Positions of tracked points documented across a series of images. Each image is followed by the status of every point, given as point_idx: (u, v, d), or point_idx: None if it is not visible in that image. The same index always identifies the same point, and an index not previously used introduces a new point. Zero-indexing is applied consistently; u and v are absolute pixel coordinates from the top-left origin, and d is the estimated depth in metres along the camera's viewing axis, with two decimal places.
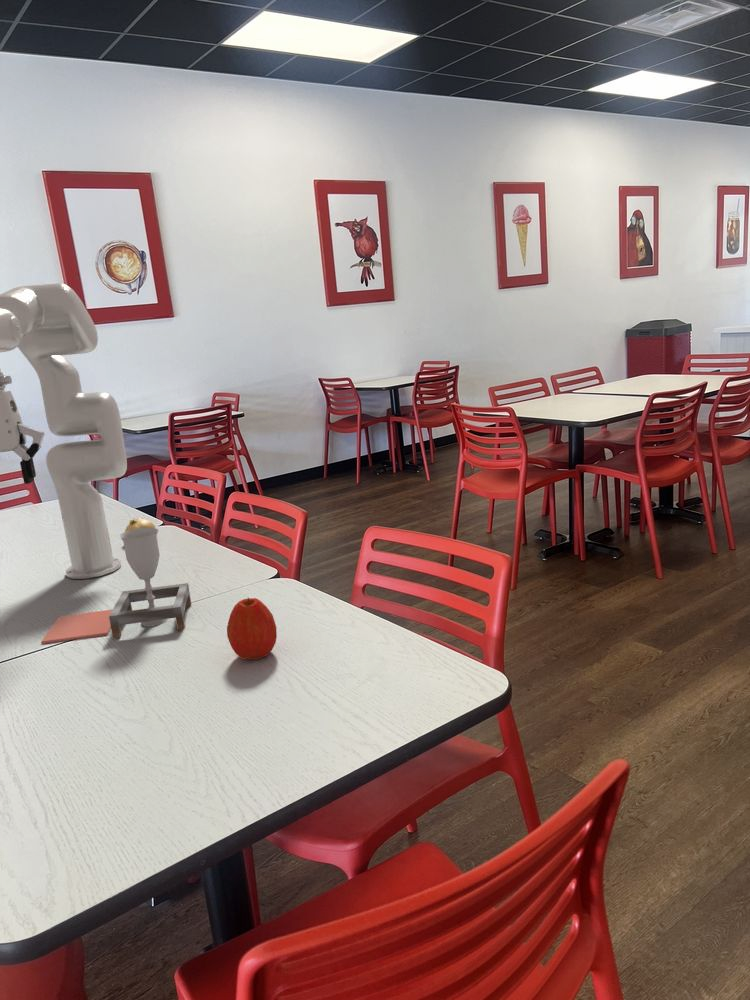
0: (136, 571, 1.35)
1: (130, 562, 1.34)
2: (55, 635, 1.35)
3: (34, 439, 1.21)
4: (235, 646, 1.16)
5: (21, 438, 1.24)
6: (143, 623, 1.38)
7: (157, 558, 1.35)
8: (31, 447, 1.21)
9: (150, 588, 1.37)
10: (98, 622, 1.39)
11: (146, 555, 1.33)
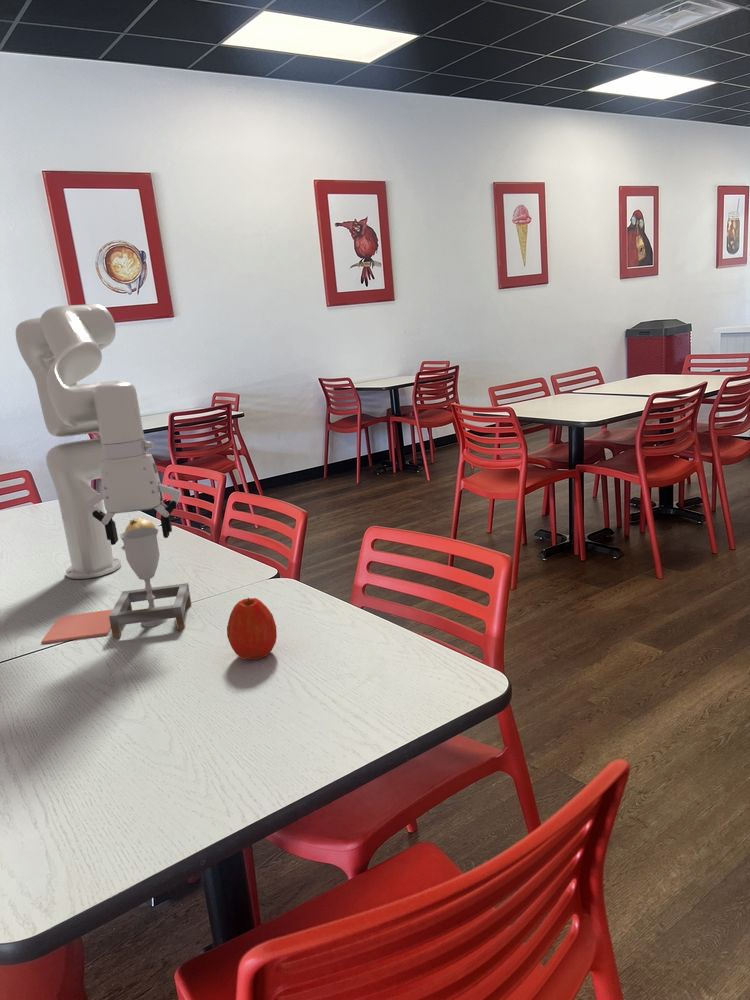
0: (136, 571, 1.35)
1: (130, 562, 1.34)
2: (55, 635, 1.35)
3: (173, 497, 1.33)
4: (235, 646, 1.16)
5: None
6: (143, 623, 1.38)
7: (157, 558, 1.35)
8: (170, 505, 1.33)
9: (150, 588, 1.37)
10: (98, 622, 1.39)
11: (146, 555, 1.33)
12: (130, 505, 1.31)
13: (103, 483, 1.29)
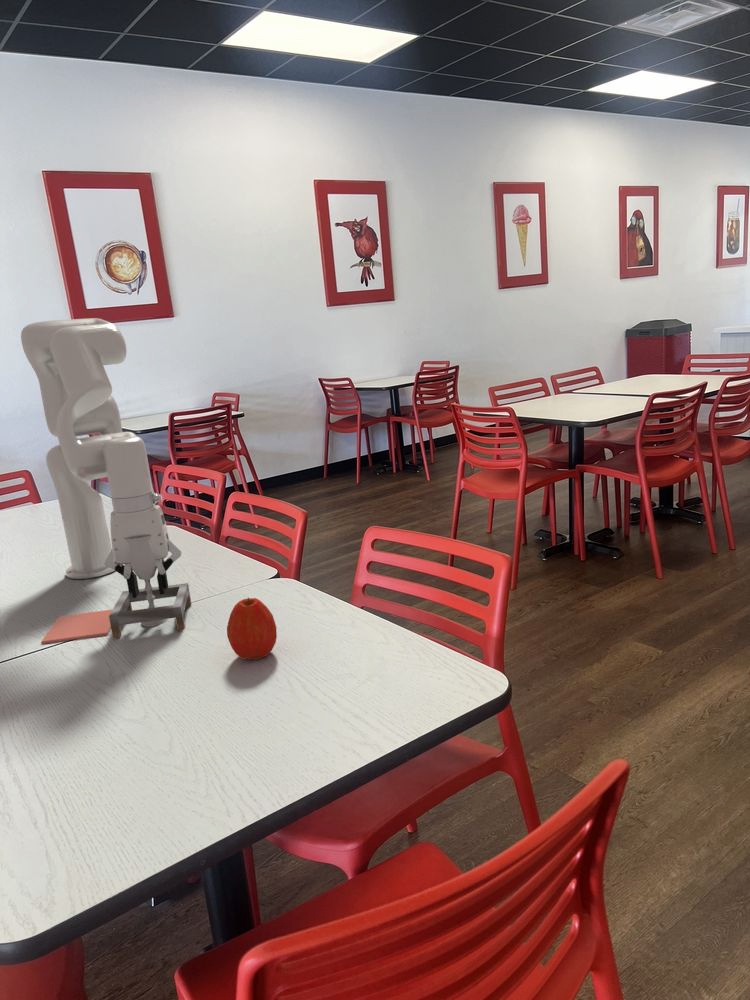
0: (136, 571, 1.35)
1: (130, 562, 1.34)
2: (55, 635, 1.35)
3: (172, 556, 1.36)
4: (235, 646, 1.16)
5: None
6: (143, 623, 1.38)
7: None
8: (166, 562, 1.36)
9: (150, 588, 1.37)
10: (98, 622, 1.39)
11: (146, 555, 1.33)
12: None
13: (112, 535, 1.32)
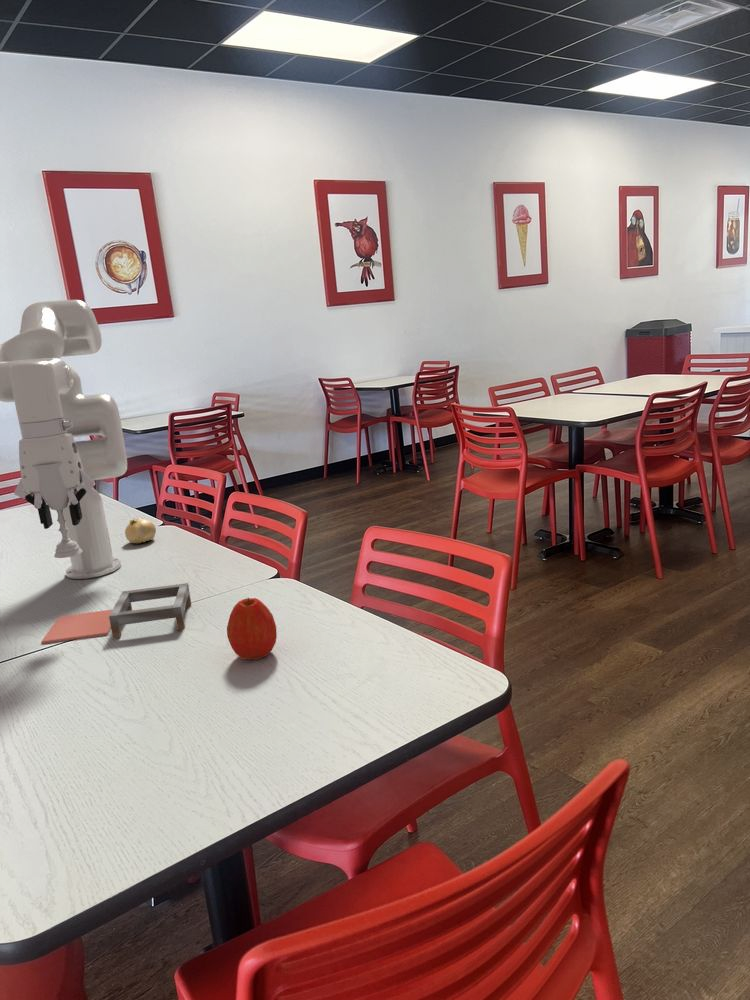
0: (47, 500, 1.31)
1: (40, 491, 1.30)
2: (55, 635, 1.35)
3: (85, 486, 1.33)
4: (235, 646, 1.16)
5: None
6: (56, 555, 1.34)
7: None
8: (79, 492, 1.33)
9: (63, 519, 1.34)
10: (98, 622, 1.39)
11: (56, 483, 1.30)
12: None
13: (21, 462, 1.29)
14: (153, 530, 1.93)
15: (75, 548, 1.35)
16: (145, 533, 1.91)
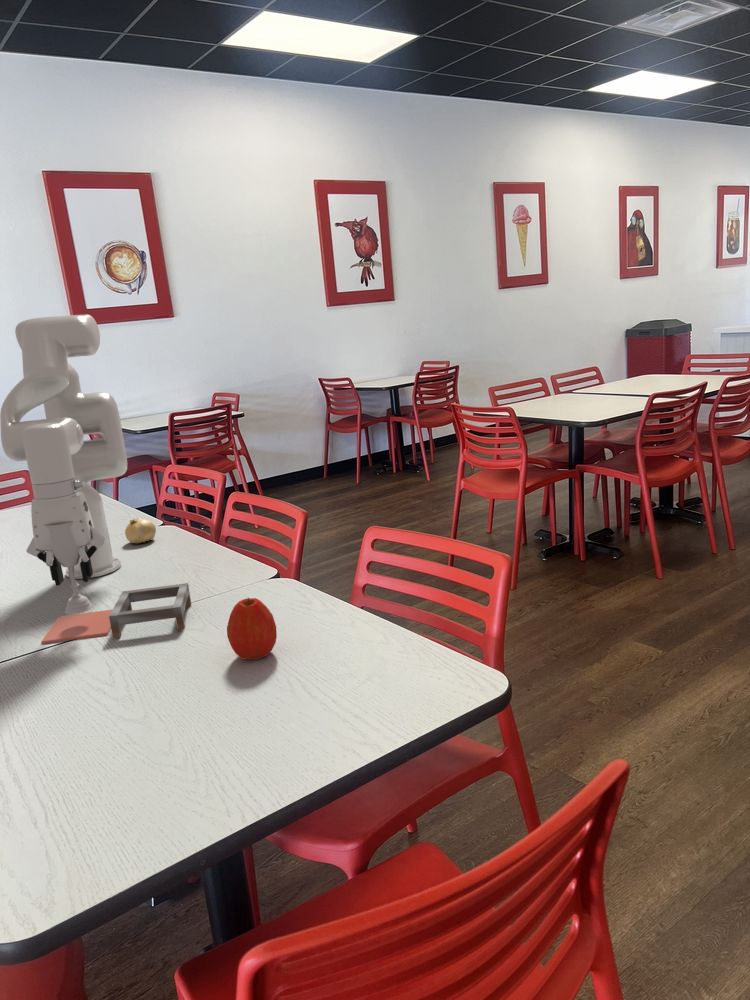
0: (58, 558, 1.34)
1: (52, 549, 1.33)
2: (55, 635, 1.35)
3: (95, 543, 1.35)
4: (235, 646, 1.16)
5: None
6: (67, 611, 1.37)
7: None
8: (90, 550, 1.35)
9: (74, 576, 1.36)
10: (98, 622, 1.39)
11: (68, 542, 1.32)
12: None
13: (33, 522, 1.31)
14: (153, 530, 1.93)
15: (86, 604, 1.37)
16: (145, 533, 1.91)
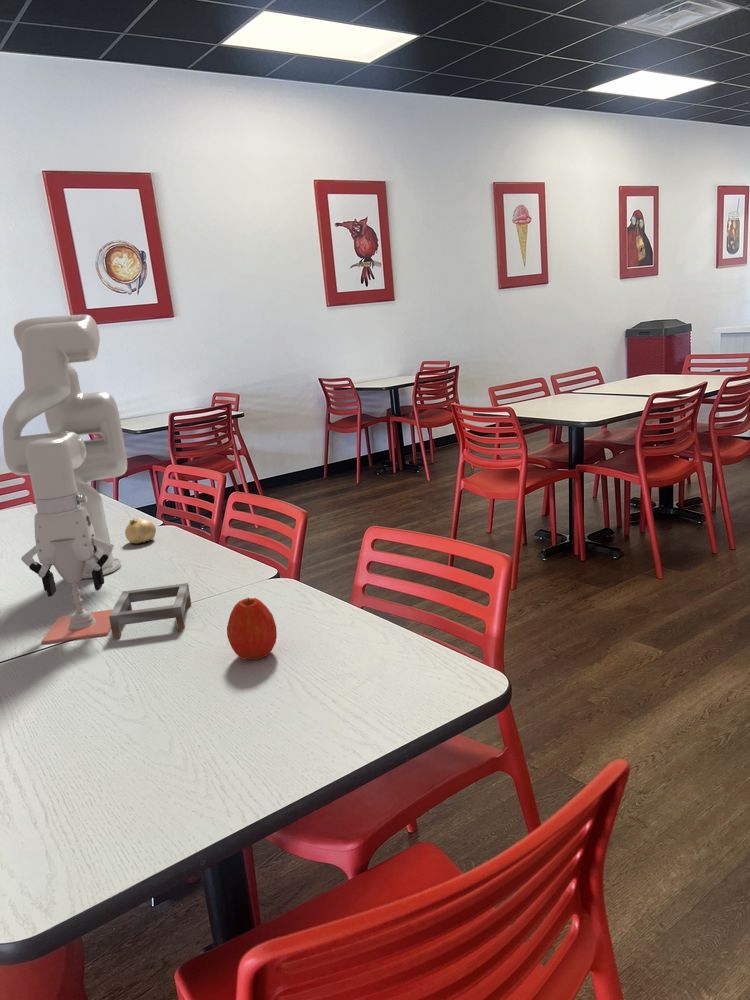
0: (62, 574, 1.35)
1: (55, 565, 1.34)
2: (55, 635, 1.35)
3: (105, 551, 1.36)
4: (235, 646, 1.16)
5: (93, 546, 1.39)
6: (70, 626, 1.38)
7: (84, 561, 1.36)
8: (101, 558, 1.36)
9: (77, 591, 1.37)
10: (98, 622, 1.39)
11: (71, 558, 1.33)
12: None
13: (36, 536, 1.32)
14: (153, 530, 1.93)
15: (89, 619, 1.38)
16: (145, 533, 1.91)
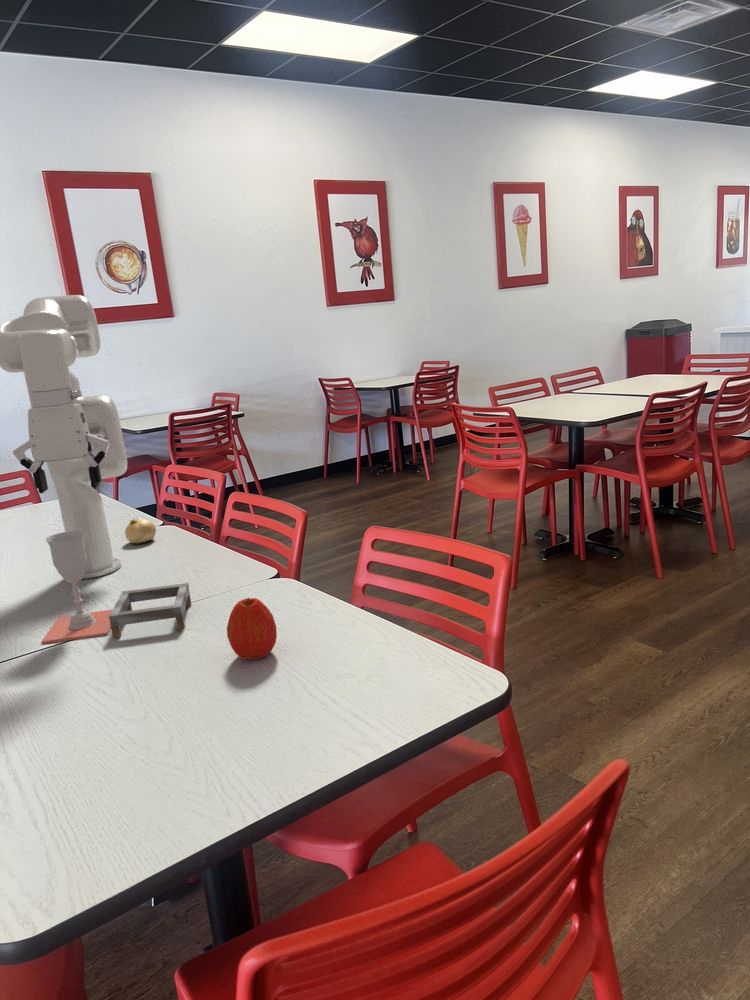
0: (62, 574, 1.35)
1: (56, 565, 1.34)
2: (55, 635, 1.35)
3: (101, 447, 1.34)
4: (235, 646, 1.16)
5: (88, 446, 1.37)
6: (70, 626, 1.38)
7: (84, 561, 1.36)
8: (98, 455, 1.34)
9: (77, 591, 1.37)
10: (98, 622, 1.39)
11: (72, 558, 1.33)
12: (57, 454, 1.32)
13: (30, 431, 1.30)
14: (153, 530, 1.93)
15: (89, 619, 1.38)
16: (145, 533, 1.91)
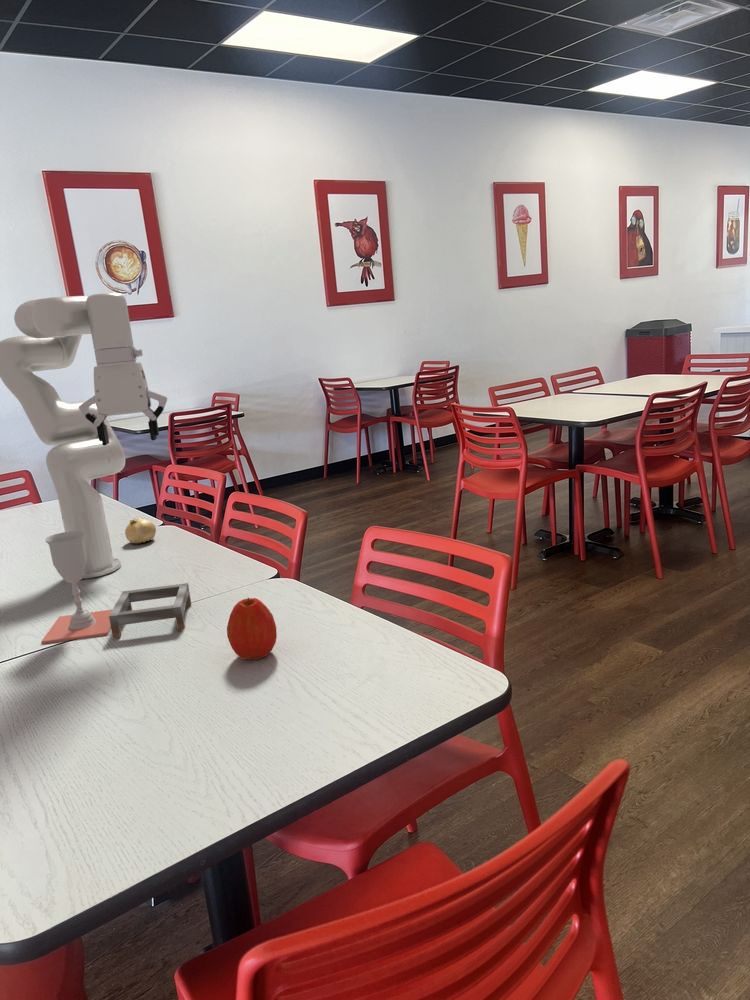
0: (62, 574, 1.35)
1: (55, 565, 1.34)
2: (55, 635, 1.35)
3: (160, 403, 1.45)
4: (235, 646, 1.16)
5: None
6: (70, 626, 1.38)
7: (84, 561, 1.36)
8: (157, 409, 1.45)
9: (77, 591, 1.37)
10: (98, 622, 1.39)
11: (71, 558, 1.33)
12: (120, 408, 1.42)
13: (95, 386, 1.41)
14: (153, 530, 1.93)
15: (89, 619, 1.38)
16: (145, 533, 1.91)
